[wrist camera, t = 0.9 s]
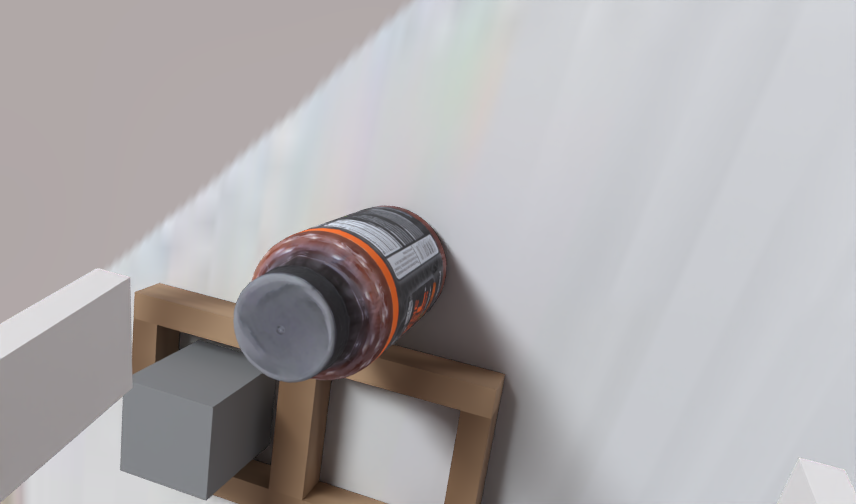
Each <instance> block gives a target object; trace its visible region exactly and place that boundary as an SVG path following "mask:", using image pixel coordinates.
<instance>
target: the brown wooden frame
mask: <svg viewBox="0 0 856 504" xmlns="http://www.w3.org/2000/svg"><path fill="white" fill-rule="evenodd" d="M235 305H236V303H233V302H229V301H225V300H222V299H218V298H214V297H210V296H206V295H203V294H199V293H195V292H191V291H187V290H184V289H180V288H176V287H172V286H168V285H165V284H161V283H159V284H156V285H153V286H150V287H147V288H145V289H142V290H139V291H136V292H135V299H134V322H133V346H132V375H133V374H135V373H137V372H138V371H140V370H142V369H144V368H146V367H148V366H150V365H152V364H154V363H156V362H158V361H160V360H162V359H163V358H165V357H167V356H169V355H171V354H173V353H175V352H177V351H178V350H179V334H180V331H181V332H184V333H188V334H191V335H195V336H198V337H202V338H205V339H209V340H213V341H216V342H220V343H223V344H227V345H230V346H234V347H237V348H240V347H239V345H238V342H237V339H236V335H235V331H234V322H233V320H234V309H235ZM346 378H347V379H351V380H354V381H358V382H362V383H365V384H369V385H372V386H376V387H379V388H383V389H386V390H390V391H393V392H397V393H401V394H404V395H408V396H411V397H415V398H418V399H422V400H425V401H429V402H432V403H436V404H440V405H443V406H447V407H450V408H454V409H457V410H461V411H460V417H459V422H458V428H457V434H456V439H455V445H454V451H453V457H452V462H451V468H450V474H449V480H448V485H447V491H446V497H445V502H444V504H481V499H482V494H483V489H484V484H485V478H486V473H487V468H488V463H489V457H490V452H491V447H492V441H493V436H494V431H495V426H496V420H497V415H498V410H499V405H500V399H501V394H502V389H503V383H504V378H505V374H503V373H499V372H495V371H491V370H487V369H484V368H480V367H476V366H472V365H468V364H465V363H461V362H457V361H453V360H450V359H446V358H442V357H438V356H434V355H431V354H427V353H423V352H419V351H415V350H412V349H408V348H404V347H400V346H396V345H393V344H392V345H391V346H390V347H389V348H388V349H387V350H386V351H385V352H384V353H383V354H381V355H380V357H379V358H377V359H376V360H374V361H373V362H372V363H371V364H370V365H368V366H367V367H366V368H364V369H363V370H361V371H359V372H357V373H356V374H354V375H351V376H349V377H346ZM330 387H331V380H318V379H307V380H305V381H301V382H295V383H294V382H291V383H288V382H283V381H279V391H278V401H277V411H276V421H275V430H274V440H273V450H272V460H271V465H268V464H265V463H262V462H259V461H256V460H253V459H252V460H251V461H250V462H249V463H248V464H247V465H246V466H244V467H243V468H242V469H241V470H240V471H239V472H238V473H237V474H235V475H234V476H233V477H232V478H231V479H230V480H229V481H228V482H226V483H225V484H224V485H223V486H222V487H221V488H220V489H219V490H217V491H216V492H215V493H214V494H213V495H215V496H218V497H221V498H224V499H227V500H229V501H232V502H235V503H238V504H387V503H384V502H381V501H378V500H375V499H372V498H369V497H366V496H363V495H360V494H357V493H354V492H351V491H348V490H345V489H342V488H338V487H335V486H332V485H329V484H326V483H323V482H320V481H319V478H320V469H321V461H322V453H323V445H324V436H325V428H326V420H327V412H328V404H329V395H330Z"/></svg>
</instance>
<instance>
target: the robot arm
mask: <svg viewBox="0 0 856 504" xmlns="http://www.w3.org/2000/svg"><path fill="white" fill-rule="evenodd" d="M132 388H133V386H132V340H131V293H130V277H128V276H124V275H121V274H117V273H113V272H110V271H106V270H102V269H99V268H96V269H95V270H93V271H91V272H90V273H88V274H86V275H84V276H83V277H81V278H79V279H77V280H76V281H74V282H72V283H70V284H69V285H67V286H65V287H64V288H62V289H60V290H58V291H57V292H55V293H53V294H51V295H49V296H48V297H46V298H44V299H43V300H41V301H39V302H37V303H36V304H34V305H32V306H30V307H29V308H27V309H25V310H24V311H22V312H20V313H18V314H16V315H15V316H13V317H11V318H10V319H8V320H6V321H4V322H3V323H1V324H0V502H1V501H3V500H4V499H5V498H6V497H7V496H8V495H10V494H11V493H12V492H13V491H14V490H15V489H16V488H18V487H19V486H20V485H21V484H22V483H23V482H25V481H26V480H27V479H28V478H29V477H30V476H31V475H33V474H34V473H35V472H36V471H37V470H38V469H40V468H41V467H42V466H43V465H44V464H45V463H46V462H48V461H49V460H50V459H51V458H52V457H53V456H54V455H56V454H57V453H58V452H59V451H60V450H61V449H63V448H64V447H65V446H66V445H67V444H68V443H69V442H71V441H72V440H73V439H74V438H75V437H76V436H78V435H79V434H80V433H81V432H82V431H83V430H84V429H86V428H87V427H88V426H89V425H90V424H91V423H93V422H94V421H95V420H96V419H97V418H98V417H99V416H101V415H102V414H103V413H104V412H105V411H106V410H107V409H109V408H110V407H111V406H112V405H113V404H114V403H116V402H117V401H118V400H119V399H120V398H121V397H122V396H124V395H125V394H126V393H127V392H128V391H129V390H131V389H132ZM777 504H856V492H855V490H854V488H853V486H852V484H851V482H850V480H849V477H848V475H847V473H846V471H845V470H844V469H840V468H837V467H833V466H829V465H826V464H822V463H818V462H815V461H811V460H807V459H803V458H800V457H799V458H798V460H797V462H796V464H795V466H794V468H793V470H792V472H791V475H790V477H789V479H788V481H787V483H786V485H785V487H784V489H783V492H782V494H781V496H780V498H779V500H778V502H777Z"/></svg>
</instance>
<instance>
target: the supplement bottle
mask: <svg viewBox="0 0 856 504" xmlns="http://www.w3.org/2000/svg"><path fill="white" fill-rule="evenodd" d="M446 265H447V264H446V258H445V253H444V250H443V247H442V245H441V243H440V240H439V238H438V236H437V235H436V233H435V232H434V230H433V229H432V228H431V226H430V225H429V224H428V223H427V222H426V221H424V220H423V219H422V218H421V217H419V216H418V215H416V214H414V213H413V212H411V211H409V210H406V209H403V208H400V207H395V206H378V207H372V208H368V209H364V210H361V211H358V212H356V213H353V214H349V215H347V216H344V217H341V218H338V219H335V220H332V221H329V222H327V223H324V224H321V225H318V226H315V227H313V228H310V229H307V230H304V231H302V232H299V233H296V234H294V235H291V236H289V237H287V238H285V239H284V240H282V241H280V242H279V243H277V244H276V245H274V246H273V247H272V248H271V249H270V250H269V251H268V252H267V253H266V254H265V256H264V257H263V258H262V260H261V261H260V262H259V264H258V266H257V268H256V270H255V272H254V275H253V278H252V281H251V282H250V283H249V284H248V285H247V286H246V287H245V288H244V289H243V291H242V292H241V293H240V296H239V298H238V300H237V302H236V305H235V309H234V320H233V322H234V331H235V335H236V339H237V342H238V345H239V347H240V349H241V351H242V352H243V354H244V355H245V357H246V358H247V360H248V361H249V362H250V363H251V364H252V365H253V366H254V367H255V368H256V369H257V370H259V371H260V372H261V373H263V374H265V375H266V376H268V377H270V378H273V379H275V380H278V381H283V382H288V383H291V382H294V383H295V382H301V381H305V380H307V379H318V380H335V379H341V378H346V377H349V376H351V375H354V374H356V373H357V372H359V371H361V370H363V369H364V368H366V367H367V366H368V365H370V364H371V363H372V362H373V361H374V360H376V359H377V358H379V357H380V355H381V354H383V353H384V352H385V351H386V350H387V349H388V348H389V347H390V346H391V345H392V344H393V343H395V341H396V340H397V339H398V338H400V337H401V336H402V335H403V334H404V333H405V332H406V331H407V330H408V329H409V328H410V327H412V326H413V325H414V324H415V323H416V322H417V321H418V320H419V319H420V318H421V317H422V316H424V315H425V314H426V312H428V311H429V310H430V309H431V307H432V306H433V304H434V303H435V302H436V300H437V298H438V297H439V295H440V293H441V291H442V288H443V285H444V281H445V277H446Z"/></svg>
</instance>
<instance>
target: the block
mask: <svg viewBox="0 0 856 504" xmlns="http://www.w3.org/2000/svg"><path fill="white" fill-rule="evenodd" d="M275 385H276V380H275V379H273V378H270V377H268V376H266V375H265V374H263V373H261V372H260V371H259V370H257V369H256V368H255V367H254V366H253V365H252V364H251V363H250V362H249V361H248V360H247V358H246V357H245V355H244V354H243V352H239V351H236V350H232V349H229V348H225V347H222V346H218V345H215V344H211V343H207V342H204V341H200V340H198V341H196V342H194V343H192V344H190V345H188V346H187V347H185V348H183V349H181V350H179V351H177V352H175V353H173V354H171V355H169V356H167V357H165V358H163V359H162V360H160V361H158V362H156V363H154V364H152V365H150V366H148V367H146V368H144V369H142V370H140V371H138V372H137V373H135V374H133V375H132V386H133V388H132V389H131V390H129V391H128V392H127V393H126V394H125V395H124V396H123V411H122V436H121V462H120V470H121V471H124V472H127V473H129V474H132V475H135V476H138V477H141V478H144V479H146V480H149V481H152V482H155V483H158V484H161V485H163V486H166V487H169V488H172V489H175V490H178V491H180V492H183V493H186V494H189V495H192V496H195V497H197V498H200V499H203V500H207V499H208V498H210V497H211V496H212V495H213V494H214V493H215V492H216V491H217V490H219V489H220V488H221V487H222V486H223V485H224V484H225V483H226V482H228V481H229V480H230V479H231V478H232V477H233V476H234V475H235V474H237V473H238V472H239V471H240V470H241V469H242V468H243V467H244V466H246V465H247V464H248V463H249V462H250V461H251V460H252V459H253V458H255V457H256V456H257V455H258V454H259V453H260V452H261V451H262V450H264V449H265V448H266V447H267V446H268V445H269V444H270V435H271V425H272V415H273V405H274V395H275Z"/></svg>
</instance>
